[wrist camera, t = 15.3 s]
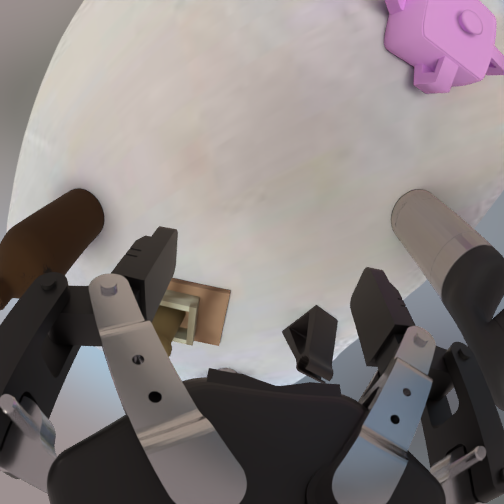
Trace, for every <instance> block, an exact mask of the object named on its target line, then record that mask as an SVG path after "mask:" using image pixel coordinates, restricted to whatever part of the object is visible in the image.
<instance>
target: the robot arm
mask: <svg viewBox="0 0 504 504" xmlns="http://www.w3.org/2000/svg"><path fill="white" fill-rule="evenodd" d="M391 224H392V228H393V231H394V233H395V234H396V236H397V237H398V238H399V240H400V241H401V242H402V244H403V245H404V247H405V248H406V249H407V251H408V252H409V253H410V255H411V256H412V258H413V259H414V260H415V262H416V263H417V265H418V266H419V267H420V269H421V270H422V272H423V273H424V275H425V276H426V278H427V279H428V281H429V282H430V284H431V285H432V286H433V288H434V290H435V291H436V293H437V294H438V296H439V297H440V299H441V300H442V302H443V304H444V305H445V307H446V309H447V310H448V311H449V313H450V315H451V316H452V318H453V319H454V321H455V323H456V324H457V326H458V328H459V329H460V331H461V333H462V335H463V337H464V339H465V341H466V343H467V345H468V346H466V345H465V344H463V343H461V342H454V343H453V344H452V345H451V346H450V347H449V349H448V350H446V349H443V348H440V347H438V346H436V344H435V340H434V338H433V337H432V335H431V334H430V333H429V332H427V331H426V330H425V329H423V328H421V327H418V326H415V324H414V322H413V319H412V317H411V316H410V313H409V311H408V309H407V307H405V303H404V301H403V300H402V297H401V295H400V293H399V292H398V290H397V289H396V288H395V287H394V286H393V285H392V284H391V283H390V282H389V280H388V279H387V277H386V275H385V273H384V271H383V270H379V269H374V268H369V267H367V268H365V269H364V271H363V273H362V275H361V277H360V280H359V282H358V284H357V286H356V288H355V290H354V292H353V295H352V297H351V302H350V308H351V312H352V315H353V319H354V322H355V326H356V329H357V333H358V336H359V340H360V343H361V347H362V351H363V354H364V358H365V362H366V365H367V366H374V367H378V370H377V372H376V373H375V375H374V376H373V378H372V380H371V381H370V383H369V385H368V386H367V388H366V390H365V392H364V393H363V395H362V396H361V398H360V399H359V401H358V402H357V401H356V400H354V399H352V398H350V397H347V396H345V395H342V394H341V390H340V385H339V384H324V383H311V382H309V383H302V384H294V385H286V386H275V385H271V384H269V383H266V382H263V381H260V380H257V379H255V378H252V377H249V376H246V375H244V374H239V373H233V372H227V371H221V370H216V369H211V368H209V371H208V376H207V378H194V379H189V380H185V381H181V379H180V377H179V376H178V374H177V372H176V370H175V368H174V366H173V365H172V363H171V361H170V359H169V357H168V355H167V353H166V351H165V349H164V347H163V345H162V343H161V341H160V339H159V337H158V335H157V333H156V331H155V329H154V327H153V325H152V321H153V318H154V316H155V314H156V312H157V309H158V307H159V305H160V303H161V301H162V298H163V296H164V294H165V292H166V290H167V288H168V285H169V283H170V281H171V279H172V277H173V274H174V271H175V266H176V253H177V237H178V231H177V229H172V228H166V227H161V226H159V227H158V228H157V230H156V231H155V232H154V234H153V235H152V237H150V236H144V237H142V238H140V239H138V240H136V241H135V242H134V244H133V245H132V246H131V248H130V249H129V250H128V251H127V253H126V255H124V257H123V258H122V259H121V260H120V262H119V263H118V264H117V266H116V267H115V268H114V270H113V271H112V272H111V274H103V275H100V276H98V277H96V278H94V279H93V280H92V281H91V283H90V285H89V286H68V281H67V278H66V277H65V276H64V275H63V274H61V273H57V272H49V273H45V274H43V275H41V276H39V277H38V278H36V279H35V280H34V282H33V283H32V284H31V285H30V286H29V288H28V289H27V290H26V291H25V293H24V294H23V295H22V297H21V298H20V299H19V300H18V302H17V303H16V304H15V306H14V307H13V308H12V310H11V311H10V312H9V314H8V315H7V317H6V318H5V319H4V321H3V322H2V324H1V325H0V471H2V472H4V473H6V474H7V475H9V476H11V477H13V478H15V479H21V480H23V481H25V482H27V483H28V484H30V485H32V486H34V487H36V488H38V489H40V490H42V491H43V492H45V493H48V496H49V500H50V504H485V503H487V502H489V501H491V500H493V499H495V498H497V497H499V496H500V495H502V494H504V430H503V426H502V423H501V420H500V418H499V414H498V412H497V409H496V406H497V407H498V408H499V409H501V410H503V411H504V309H503V310H502V311H501V312H500V313H499V314H497V315H496V316H495V317H494V318H493V315H494V313H495V311H496V309H497V307H498V305H499V303H500V301H501V299H502V298H503V296H504V258H503V257H502V255H501V254H500V253H499V252H498V251H497V250H496V249H495V248H494V247H493V246H492V245H491V244H490V243H489V242H488V241H486V240H485V239H484V238H483V237H482V236H481V235H480V234H479V233H478V232H477V231H476V230H474V229H473V228H472V227H471V226H470V225H469V224H468V223H467V222H465V221H464V220H463V219H462V218H461V217H460V216H458V215H457V214H456V213H455V212H454V211H452V210H451V209H450V208H449V207H448V206H446V205H445V204H444V203H443V202H441V201H440V200H439V199H438V198H436V197H435V196H434V195H432V194H431V193H430V192H428V191H425V190H420V189H419V190H413V191H410V192H408V193H406V194H405V195H404V196H402V197H401V198H400V199H399V201H398V202H397V203H396V205H395V207H394V209H393V212H392V217H391ZM492 318H493V319H492ZM81 346H102V348H103V351H104V354H105V358H106V361H107V364H108V367H109V370H110V373H111V376H112V379H113V382H114V385H115V387H116V390H117V393H118V395H119V398H120V400H121V403H122V406H123V409H124V411H125V413H126V415H124V416H123V417H121V418H120V419H118V420H116V421H115V422H113V423H111V424H110V425H108V426H106V427H105V428H103V429H101V430H100V431H98V432H96V433H95V434H93V435H91V436H89V437H88V438H86V439H84V440H82V441H81V442H79V443H77V444H75V445H73V446H72V447H70V448H68V449H66V450H64V451H63V452H62V453H61V454H59V456H58V457H57V456H56V453H55V448H54V447H55V446H54V444H55V438H56V434H55V429H54V426H53V424H52V423H51V421H50V420H49V417H50V415H51V412H52V409H53V407H54V405H55V402H56V400H57V397H58V394H59V393H60V390H61V388H62V385H63V383H64V381H65V379H66V376H67V374H68V372H69V370H70V368H71V365H72V363H73V361H74V359H75V357H76V355H77V353H78V351H79V349H80V347H81ZM453 388H455V391H456V394H457V396H458V399H459V407H458V410H457V411H456V413H455V414H453V415H452V413H451V410H450V406H449V403H448V400H447V397H446V395H447V394H448V392H450V391H451V390H452V389H453ZM495 405H496V406H495ZM420 419H421V421H422V426H423V431H424V436H425V440H426V445H427V450H428V456H429V462H430V468H431V469H430V472H429V471H428V470H427V469H426V468H425V467H424V466H423V465H422V464H421V463H420V462H419V461H418V460H417V459H416V458H415V457H414V456H413V455H412V454H411V453H410V452H409V451H408V449H409V447H410V444H411V442H412V439H413V437H414V434H415V432H416V429H417V427H418V424H419V421H420Z"/></svg>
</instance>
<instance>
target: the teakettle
mask: <svg viewBox="0 0 504 504" xmlns="http://www.w3.org/2000/svg"><path fill="white" fill-rule="evenodd" d="M385 3H386V6H387V9H388V11H389V17H388V22H387V27H386V32H385V38H384V45H385V48H386V49H387V50H388V51H390V52H391V53H393V54H394V55H396V56H397V57H399V58H401V59H402V60H404V61H405V62H407V63H408V64H410V65H412V66H413V67H414V83H413V85H414V86H415V87H417V88H418V89H420V90H421V91H423V92H424V93H426V94H429V93H447V92H449V91H450V89H451V86H463V85H468V84H472V83H475V82H478V81H481V80H482V79H483V78H484V76H485V74H486V75H504V55H503V54H502V53H501V52H500V51H499V50H498V49H497V48H496V47H495V46H494V44H495V37H496V18H495V16H494V15H493V13H492V12H491V11H490V10H489V9H488V8H487V7H485V6H484V5H483V4H482V3H481V2H480V1H479V0H385Z"/></svg>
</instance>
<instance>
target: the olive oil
mask: <svg viewBox="0 0 504 504" xmlns="http://www.w3.org/2000/svg"><path fill="white" fill-rule="evenodd" d="M103 224H104V214H103V210H102V207H101V205H100V203H99V202H98V200H97V199H96V198H95V197H94V196H93V195H92V194H91V193H90V192H88V191H86V190H83V189H73V190H71V191H69V192H67V193H66V194H64V195H62V196H61V197H59V198H58V199H56V200H54V201H53V202H51V203H50V204H48V205H46V206H45V207H43V208H41V209H40V210H38V211H37V212H35V213H33V214H32V215H30V216H29V217H27V218H26V219H24V220H22V221H21V222H19V223H18V224H16V225H15V226H14V227H12V228H11V229H10V230H9V231H8V232H7V233H6V235H5V236H4V238H3V240H2V241H1V243H0V310H3V309H4V307H5V306H6V305H7V304H8V302H9V301H10V300H11V299H12V298H19V299H20V298H21V297H22V295H23V294H24V293H25V291H26V290H27V289H28V288H29V286H30V285H31V284H32V283H33V282H34V280H35V279H36V278H38V277H39V276H41V275H43V274H45V273H49V272H57V273H61V274H63V275H64V276H65V274H66V273H67V272H68V270H69V269H70V268H71V266H72V265H73V264H74V263H75V261H76V260H77V259H78V258H79V256H80V255H81V254H82V253H83V251H84V250H85V249H86V248H87V247H88V245H89V244H90V243H91V242H92V241H93V240H94V239H95V238H96V237H97V235H98V234H99V233H100V232H101V230H102V228H103Z"/></svg>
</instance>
